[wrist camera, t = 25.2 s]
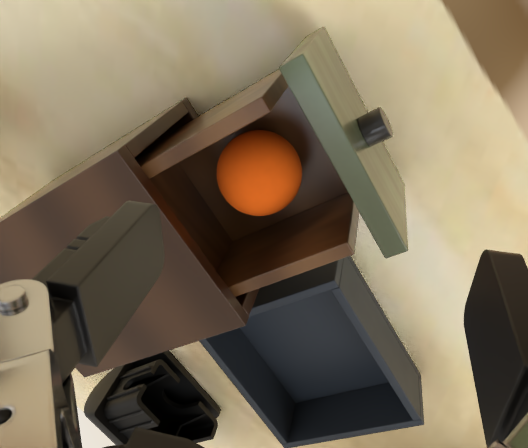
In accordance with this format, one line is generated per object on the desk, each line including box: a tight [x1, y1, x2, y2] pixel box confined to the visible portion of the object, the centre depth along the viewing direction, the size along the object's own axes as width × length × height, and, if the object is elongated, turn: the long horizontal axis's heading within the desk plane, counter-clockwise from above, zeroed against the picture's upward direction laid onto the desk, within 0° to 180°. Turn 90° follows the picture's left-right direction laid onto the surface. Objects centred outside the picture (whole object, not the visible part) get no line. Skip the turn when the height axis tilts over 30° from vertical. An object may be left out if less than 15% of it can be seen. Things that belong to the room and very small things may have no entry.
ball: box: [216, 130, 302, 216], centre depth 27 cm, size 5×5×5 cm
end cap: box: [84, 351, 221, 445], centre depth 43 cm, size 10×7×7 cm
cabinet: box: [0, 98, 260, 377], centre depth 31 cm, size 14×12×9 cm
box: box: [199, 256, 424, 448], centre depth 36 cm, size 14×12×5 cm
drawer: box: [136, 27, 408, 297], centre depth 26 cm, size 14×10×7 cm
